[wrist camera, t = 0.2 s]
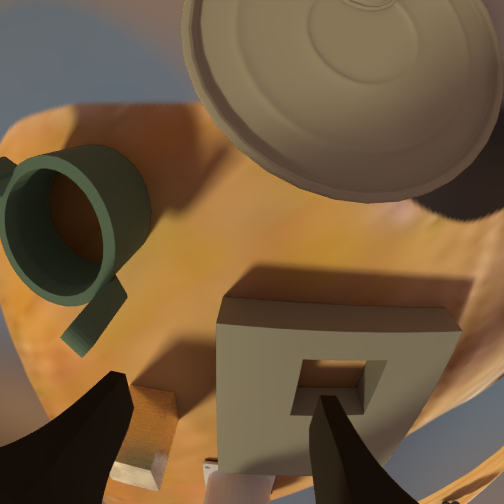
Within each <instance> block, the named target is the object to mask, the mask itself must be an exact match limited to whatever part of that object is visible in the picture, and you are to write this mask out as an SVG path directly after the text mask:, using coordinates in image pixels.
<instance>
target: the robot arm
mask: <svg viewBox="0 0 504 504" xmlns="http://www.w3.org/2000/svg"><path fill="white" fill-rule="evenodd" d="M133 411H134V405H133V401H132V398H131V394H130V390H129V386H128V382H127V379H126V375H125V374H124V373H119V372H115V371H110V372H109V373H108V374H107V375H106V376H104V377H103V378H102V379H101V380H100V381H99V382H98V383H97V384H96V385H95V386H93V387H92V388H91V389H90V390H89V391H88V392H87V393H86V394H84V395H83V396H82V397H81V398H80V399H79V400H77V401H76V402H75V403H74V404H73V405H72V406H70V407H69V408H68V409H66V410H65V411H64V412H63V413H61V414H60V415H59V416H57V417H56V418H55V419H53V420H52V421H50V422H49V423H47V424H46V425H44V426H43V427H41V428H40V429H38V430H36V431H34V432H33V433H31V434H29V435H27V436H25V437H23V438H21V439H19V440H17V441H15V442H13V443H10V444H8V445H6V446H3V447H0V504H101V503H102V499H103V495H104V491H105V487H106V483H107V480H108V477H109V474H110V471H111V469H112V467H113V464H114V462H115V460H116V457H117V455H118V452H119V450H120V448H121V446H122V443H123V441H124V438H125V436H126V434H127V431H128V429H129V425H130V422H131V418H132V414H133ZM309 453H310V461H311V468H312V475H313V483H314V490H315V497H316V504H419V503H418V502H417V501H416V500H414V499H413V498H412V497H411V496H410V495H409V494H408V493H406V492H405V491H404V490H403V489H402V488H401V487H400V486H399V485H398V484H397V483H396V482H395V481H394V480H393V479H392V478H391V477H390V476H389V475H388V474H387V472H386V471H385V470H384V469H383V468H382V466H381V465H380V464H379V463H378V461H377V460H376V459H375V458H374V456H373V455H372V453H371V452H370V451H369V449H368V448H367V446H366V445H365V444H364V442H363V441H362V439H361V437H360V436H359V434H358V433H357V431H356V430H355V428H354V426H353V425H352V423H351V421H350V419H349V418H348V416H347V414H346V412H345V411H344V409H343V407H342V405H341V403H340V401H339V399H338V397H337V396H336V395H319V398H318V402H317V405H316V408H315V411H314V414H313V417H312V420H311V423H310V426H309ZM203 470H204V479H205V486H206V491H205V497H204V504H270V494H271V490H272V487H273V484H274V481H275V478H276V476H268V475H250V474H237V473H227V472H218V462H213V461H204V462H203Z"/></svg>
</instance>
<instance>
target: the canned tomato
mask: <svg viewBox="0 0 504 504" xmlns="http://www.w3.org/2000/svg"><path fill="white" fill-rule="evenodd" d="M181 36H182V45H183V54H184V61H185V64H186V67H187V69H188V72H189V75H190V78H191V81H192V83H193V87H194V89H195V92H196V94H197V95H198V97H199V99H200V100H201V102H202V104H203V105H204V107H205V109H206V110H207V112H208V114H209V115H210V117H211V118H212V120H213V122H214V123H215V124H216V125H217V126H218V127H219V129H220V130H221V131H222V132H223V133H224V134H225V135H226V136H227V137H228V138H229V140H230V141H231V142H232V143H233V144H234V145H235V146H236V147H237V148H238V149H239V150H240V151H241V152H243V153H244V154H245V155H247V156H248V157H249V158H250V159H252V160H253V161H254V162H256V163H257V164H258V165H259V166H261V167H262V168H263V169H265V170H266V171H267V172H269V173H271V174H273V175H275V176H277V177H279V178H281V179H283V180H285V181H286V182H288V183H290V184H292V185H294V186H296V187H298V188H300V189H303V190H306V191H309V192H312V193H316V194H319V195H322V196H325V197H328V198H331V199H335V200H343V201H351V202H359V203H366V204H368V203H383V202H398V201H402V200H406V199H409V198H413V197H416V196H420V195H424V194H427V193H429V192H431V191H433V190H435V189H437V188H438V187H440V186H442V185H444V184H446V183H448V182H450V181H452V180H453V179H454V178H455V177H456V176H457V175H459V174H460V173H461V172H462V171H463V170H464V169H465V168H467V167H468V166H469V165H470V164H471V163H472V162H473V161H474V159H475V158H476V157H477V155H478V154H479V153H480V151H481V150H482V149H483V147H484V146H485V145H486V143H487V142H488V139H489V137H490V135H491V133H492V130H493V128H494V126H495V124H496V121H497V119H498V115H499V111H500V106H501V101H502V96H503V60H502V55H501V49H500V44H499V39H498V36H497V33H496V31H495V28H494V25H493V22H492V20H491V17H490V15H489V12H488V10H487V9H486V7H485V5H484V3H483V2H482V0H184V8H183V15H182V24H181Z"/></svg>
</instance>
